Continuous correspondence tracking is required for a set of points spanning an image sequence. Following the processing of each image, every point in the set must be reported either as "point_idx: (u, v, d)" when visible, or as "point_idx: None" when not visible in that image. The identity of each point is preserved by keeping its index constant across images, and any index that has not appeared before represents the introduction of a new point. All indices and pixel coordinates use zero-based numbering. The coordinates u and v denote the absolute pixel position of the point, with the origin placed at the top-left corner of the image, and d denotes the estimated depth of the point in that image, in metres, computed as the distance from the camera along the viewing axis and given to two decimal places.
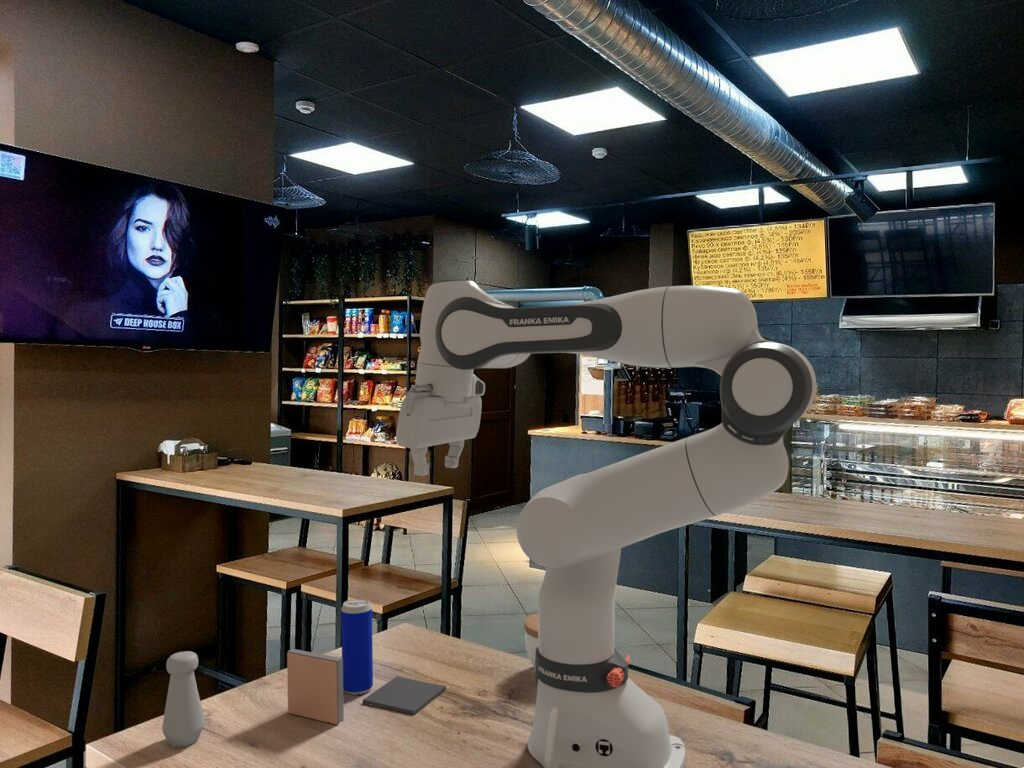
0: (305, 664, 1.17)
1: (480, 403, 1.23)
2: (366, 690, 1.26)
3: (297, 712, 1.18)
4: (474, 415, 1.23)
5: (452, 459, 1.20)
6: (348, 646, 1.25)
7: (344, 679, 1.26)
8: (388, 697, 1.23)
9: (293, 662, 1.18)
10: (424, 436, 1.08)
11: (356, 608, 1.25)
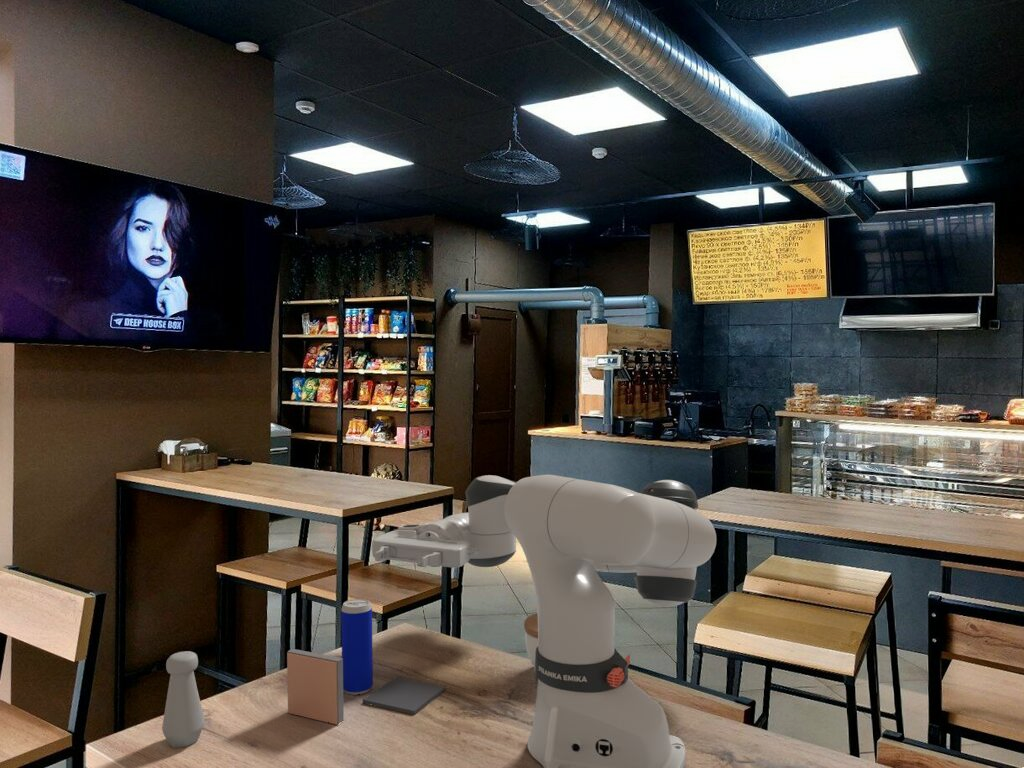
0: (305, 664, 1.17)
1: None
2: (366, 690, 1.26)
3: (297, 712, 1.18)
4: None
5: (385, 558, 1.42)
6: (348, 646, 1.25)
7: (344, 679, 1.26)
8: (388, 697, 1.23)
9: (293, 662, 1.18)
10: None
11: (356, 608, 1.25)
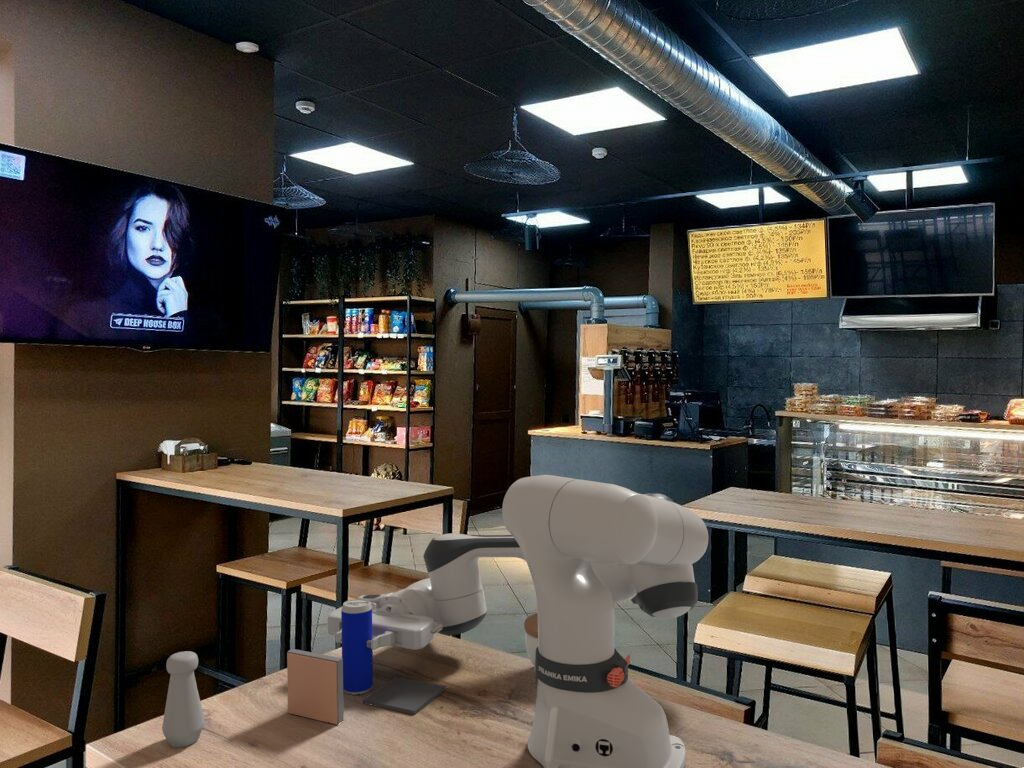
0: (305, 664, 1.17)
1: None
2: (366, 690, 1.26)
3: (297, 712, 1.18)
4: None
5: None
6: (348, 646, 1.25)
7: (344, 679, 1.26)
8: (388, 697, 1.23)
9: (293, 662, 1.18)
10: None
11: (356, 608, 1.25)
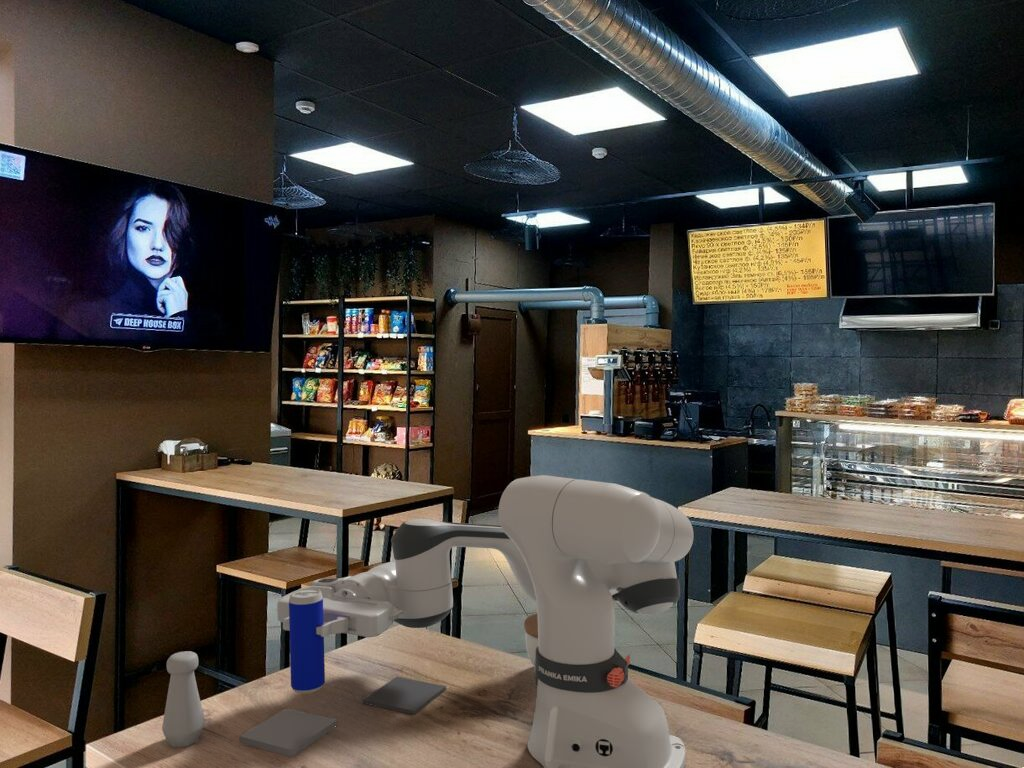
0: None
1: None
2: (317, 688, 1.15)
3: None
4: None
5: None
6: (296, 641, 1.14)
7: (292, 676, 1.15)
8: (388, 697, 1.23)
9: None
10: None
11: (304, 599, 1.14)
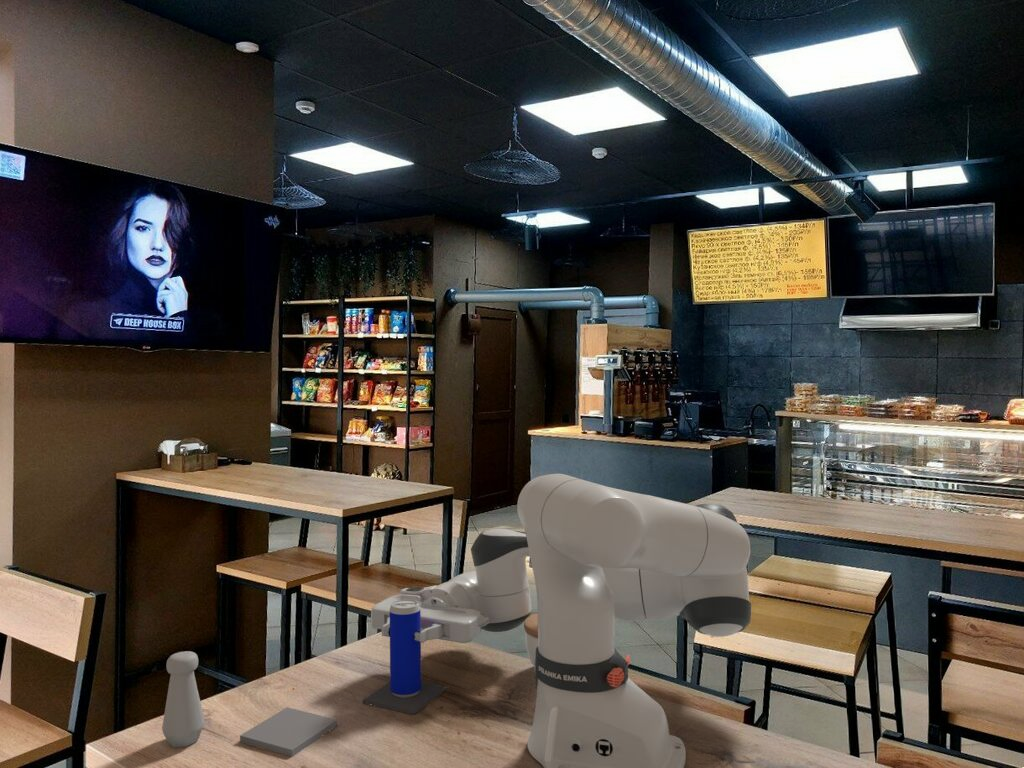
0: None
1: None
2: (415, 692, 1.23)
3: None
4: None
5: None
6: (398, 648, 1.22)
7: (392, 681, 1.23)
8: (388, 697, 1.23)
9: None
10: None
11: (406, 609, 1.22)
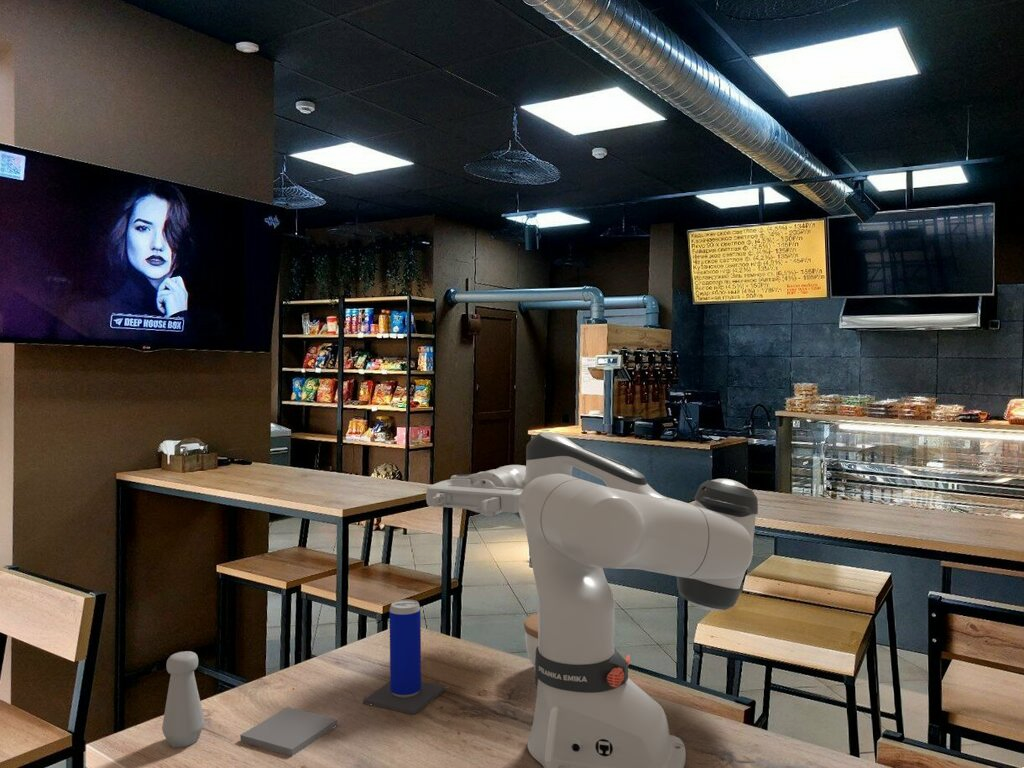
0: None
1: None
2: (415, 692, 1.23)
3: None
4: None
5: (442, 504, 1.40)
6: (398, 648, 1.22)
7: (392, 681, 1.23)
8: (388, 697, 1.23)
9: None
10: None
11: (406, 609, 1.22)
